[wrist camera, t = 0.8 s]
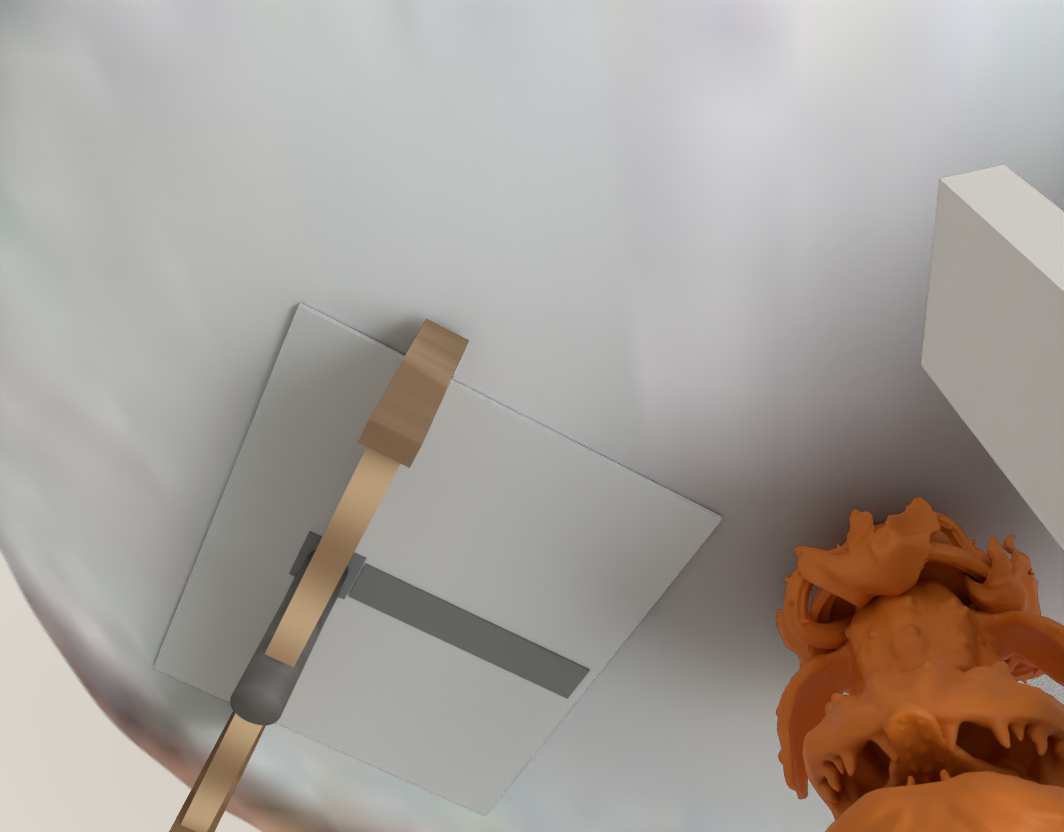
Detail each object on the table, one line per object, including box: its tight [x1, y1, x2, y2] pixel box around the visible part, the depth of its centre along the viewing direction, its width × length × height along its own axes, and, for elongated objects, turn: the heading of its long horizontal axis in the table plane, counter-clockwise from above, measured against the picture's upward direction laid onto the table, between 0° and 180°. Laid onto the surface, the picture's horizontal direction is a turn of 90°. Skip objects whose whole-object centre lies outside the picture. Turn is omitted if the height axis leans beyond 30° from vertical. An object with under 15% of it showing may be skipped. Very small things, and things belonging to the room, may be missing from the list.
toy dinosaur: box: [776, 497, 1064, 832], centre depth 30 cm, size 11×11×18 cm
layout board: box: [153, 303, 722, 816], centre depth 42 cm, size 19×23×1 cm
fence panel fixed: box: [169, 550, 348, 832], centre depth 41 cm, size 13×2×8 cm, turn 153°
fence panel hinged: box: [265, 319, 469, 667], centre depth 35 cm, size 12×2×8 cm, turn 153°
